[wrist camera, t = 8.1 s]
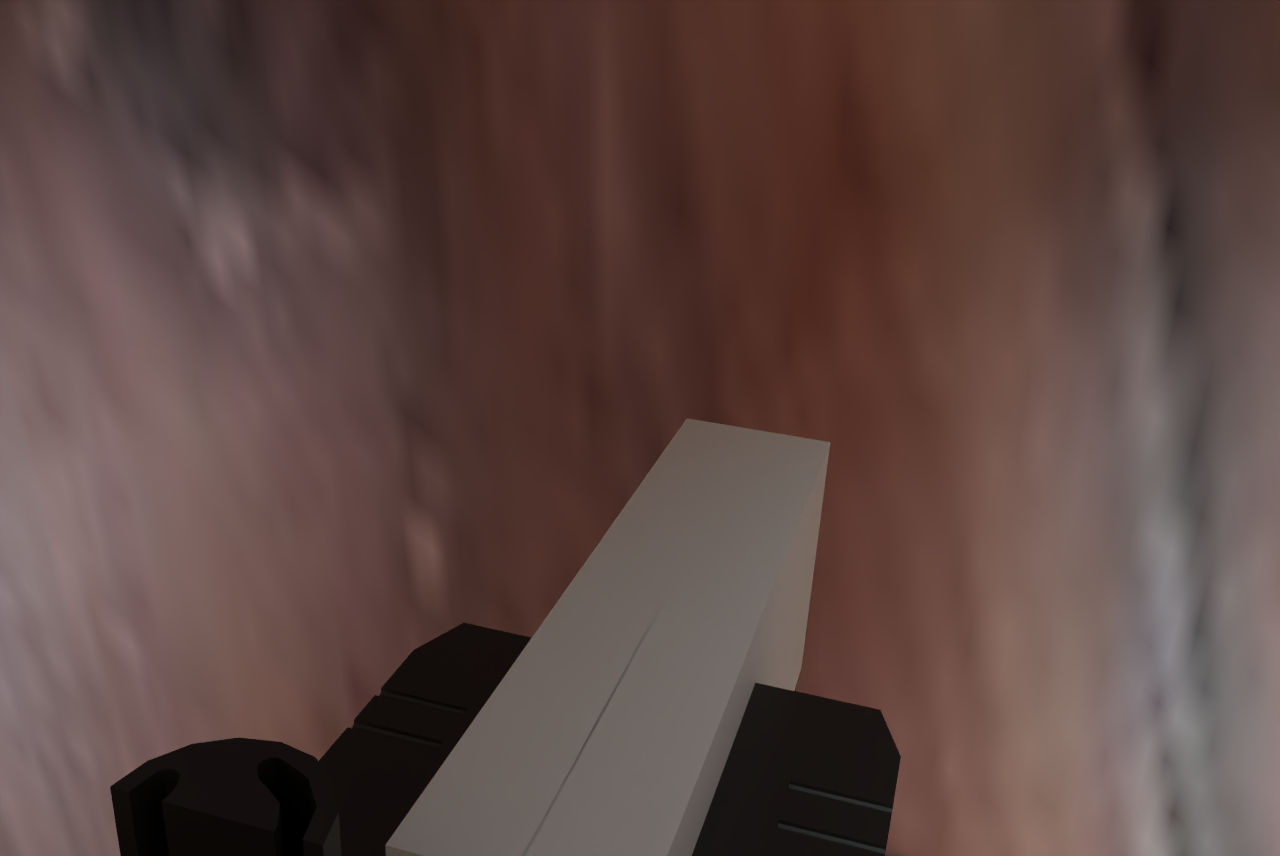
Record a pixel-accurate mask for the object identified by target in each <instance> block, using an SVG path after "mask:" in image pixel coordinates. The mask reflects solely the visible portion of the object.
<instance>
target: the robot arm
mask: <svg viewBox="0 0 1280 856" xmlns="http://www.w3.org/2000/svg"><path fill="white" fill-rule="evenodd" d="M829 449H830V442H826V441H820V440H814V439H808V438H802V437H796V436H790V435H784V434H778V433H772V432H766V431H761V430H755V429H749V428H743V427H737V426H731V425H725V424H719V423H713V422H707V421H701V420H695V419H689V418H687V419H686V420H685V421H684V423H683V424H682V426H681V427H680V429H679V430H678V431H677V433H676V434H675V436H674V437H673V438H672V440H671V441H670V443H669V444H668V446H667V447H666V448H665V450H664V451H663V453H662V454H661V455H660V457H659V458H658V460H657V461H656V463H655V464H654V465H653V467H652V468H651V470H650V471H649V472H648V474H647V475H646V477H645V478H644V480H643V481H642V482H641V484H640V485H639V487H638V488H637V489H636V491H635V492H634V494H633V495H632V497H631V498H630V499H629V501H628V502H627V504H626V505H625V506H624V508H623V509H622V511H621V512H620V514H619V515H618V516H617V518H616V519H615V521H614V522H613V523H612V525H611V526H610V528H609V529H608V531H607V532H606V533H605V535H604V536H603V538H602V539H601V540H600V542H599V543H598V545H597V546H596V548H595V549H594V550H593V552H592V553H591V555H590V556H589V557H588V559H587V560H586V562H585V563H584V565H583V566H582V567H581V569H580V570H579V572H578V573H577V574H576V576H575V577H574V579H573V580H572V582H571V583H570V584H569V586H568V587H567V589H566V590H565V591H564V593H563V594H562V596H561V597H560V599H559V600H558V601H557V603H556V604H555V606H554V607H553V608H552V610H551V611H550V613H549V614H548V616H547V617H546V618H545V620H544V621H543V623H542V624H541V625H540V627H539V628H538V630H537V631H536V633H535V634H534V635H533V637H532V638H531V637H526V636H522V635H517V634H512V633H508V632H503V631H499V630H494V629H490V628H485V627H481V626H476V625H472V624H467V623H463V624H461V625H459V626H457V627H455V628H453V629H452V630H450V631H448V632H446V633H444V634H442V635H441V636H439V637H437V638H435V639H433V640H431V641H430V642H428V643H426V644H424V645H422V646H420V647H419V648H417V649H415V650H414V651H413V652H412V653H411V654H410V655H409V656H408V658H407V659H406V660H405V661H404V662H403V663H402V665H401V666H400V667H399V668H398V669H397V670H396V672H395V673H394V674H393V675H392V676H391V677H390V679H389V680H388V681H387V682H386V683H385V684H384V686H383V687H382V688H381V693H380V696H376V695H375V696H374V697H373V698H372V700H371V701H370V702H369V703H368V704H367V705H366V707H365V708H364V709H363V710H362V711H361V712H360V714H359V715H358V716H357V717H356V718H355V719H354V725H353V727H352V729H351V728H347V729H346V730H345V731H344V732H343V733H342V735H341V736H340V737H339V738H338V739H337V740H336V742H335V743H334V744H333V745H332V746H331V747H330V749H329V750H328V751H327V752H326V753H325V754H324V756H323V757H322V758H321V759H320V760H319V761H318V760H317V759H316V758H315V757H313V756H311V755H309V754H307V753H304V752H302V751H300V750H298V749H295V748H293V747H291V746H289V745H286V744H284V743H282V742H275V741H265V740H256V739H246V738H233V739H225V740H218V741H211V742H204V743H196V744H191V745H188V746H186V747H183V748H180V749H178V750H175V751H173V752H170V753H167V754H165V755H162V756H159V757H157V758H154V759H151V760H149V761H147V762H145V763H144V764H142V765H141V766H139V767H138V768H137V769H135V770H134V771H132V772H131V773H129V774H128V775H127V776H125V777H124V778H122V779H121V780H119V781H118V782H116V783H115V784H114V785H112V786H111V787H110V789H111V795H112V802H113V808H114V815H115V821H116V828H117V834H118V841H119V848H120V854H121V856H885V851H886V845H887V839H888V833H889V827H890V820H891V814H892V808H893V802H894V795H895V789H896V783H897V777H898V770H899V764H900V758H901V756H900V754H899V752H898V749H897V747H896V745H895V743H894V740H893V738H892V736H891V733H890V731H889V729H888V727H887V724H886V722H885V720H884V717H883V715H882V713H881V710H878V709H873V708H869V707H864V706H860V705H855V704H851V703H846V702H841V701H837V700H832V699H828V698H823V697H819V696H814V695H810V694H805V693H800V692H796V691H794V690H795V687H796V684H797V681H798V677H799V674H800V671H801V667H802V659H803V651H804V644H805V636H806V628H807V620H808V612H809V605H810V597H811V589H812V581H813V574H814V566H815V558H816V550H817V543H818V535H819V527H820V519H821V511H822V504H823V496H824V488H825V480H826V473H827V465H828V457H829Z"/></svg>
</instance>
